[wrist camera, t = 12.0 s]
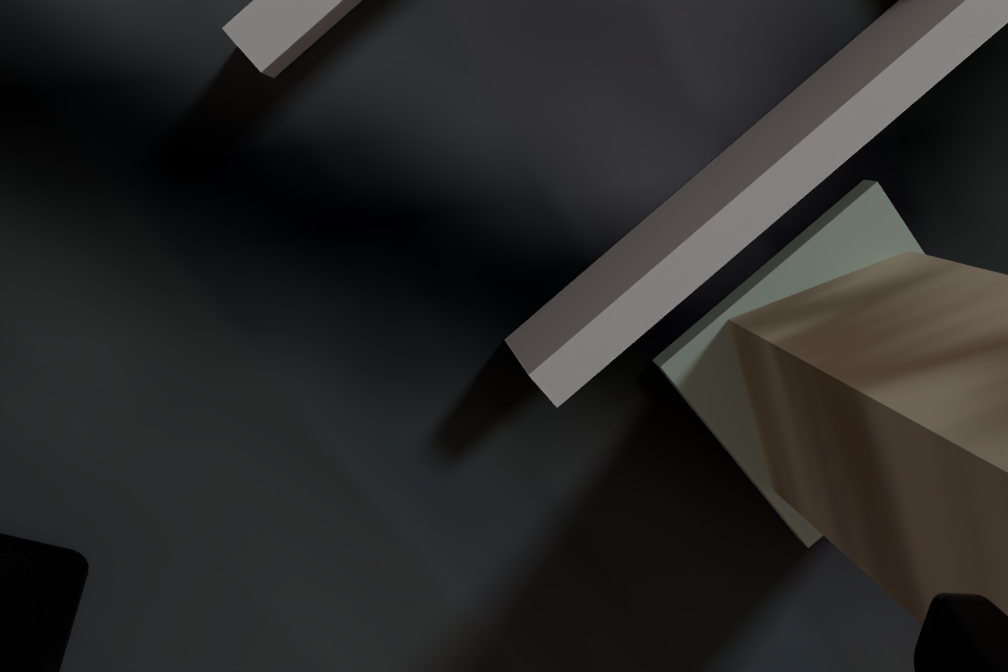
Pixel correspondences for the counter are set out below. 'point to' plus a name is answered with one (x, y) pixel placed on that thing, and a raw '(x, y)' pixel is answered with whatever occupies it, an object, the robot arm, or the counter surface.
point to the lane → (715, 189)
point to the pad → (797, 267)
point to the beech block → (892, 420)
